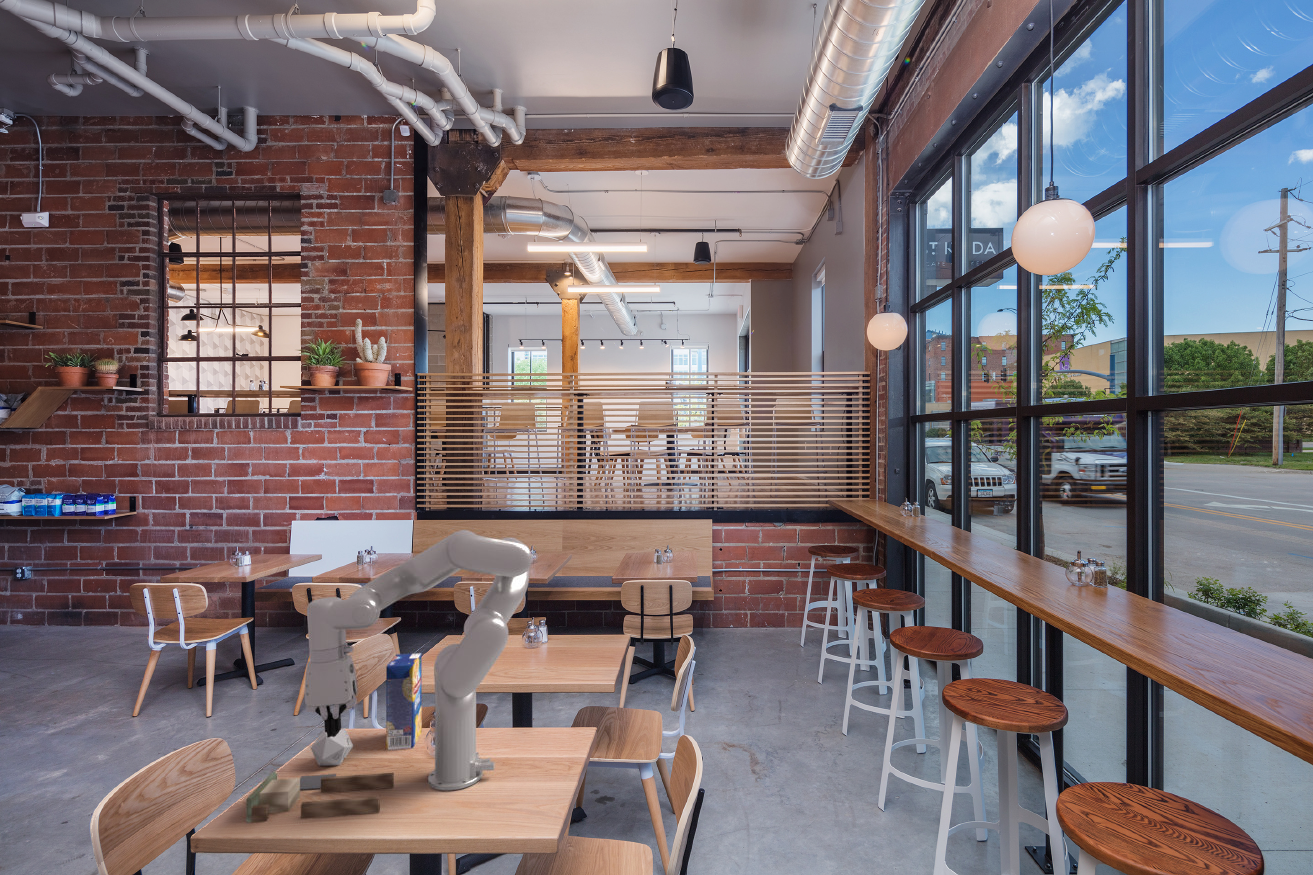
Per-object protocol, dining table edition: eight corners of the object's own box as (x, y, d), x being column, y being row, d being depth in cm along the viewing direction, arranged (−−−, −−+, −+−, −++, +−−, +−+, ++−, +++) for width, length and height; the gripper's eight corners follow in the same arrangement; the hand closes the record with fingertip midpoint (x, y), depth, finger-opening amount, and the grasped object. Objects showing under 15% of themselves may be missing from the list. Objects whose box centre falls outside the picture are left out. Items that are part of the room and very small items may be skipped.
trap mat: (336, 774, 160) (336, 773, 160) (325, 788, 153) (325, 787, 153) (301, 777, 159) (301, 776, 159) (289, 790, 152) (289, 789, 152)
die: (324, 777, 160) (351, 738, 164) (296, 756, 162) (324, 718, 165) (339, 774, 168) (365, 737, 171) (313, 754, 170) (339, 718, 173)
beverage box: (421, 731, 185) (421, 652, 186) (413, 748, 174) (413, 664, 175) (396, 732, 184) (396, 654, 185) (386, 750, 173) (386, 666, 174)
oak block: (299, 797, 150) (299, 777, 150) (288, 811, 144) (288, 791, 144) (272, 799, 149) (272, 779, 149) (259, 814, 143) (259, 793, 143)
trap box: (393, 785, 154) (393, 763, 155) (378, 812, 143) (378, 789, 143) (272, 793, 151) (272, 771, 151) (246, 822, 139) (246, 798, 139)
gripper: (368, 645, 153) (373, 723, 153) (300, 651, 151) (305, 731, 151) (357, 655, 145) (362, 737, 145) (286, 662, 143) (291, 746, 143)
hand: (333, 734), depth 148 cm, fingers closed
